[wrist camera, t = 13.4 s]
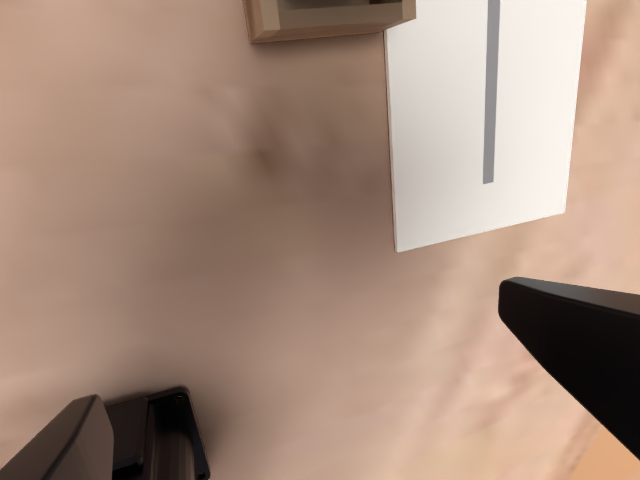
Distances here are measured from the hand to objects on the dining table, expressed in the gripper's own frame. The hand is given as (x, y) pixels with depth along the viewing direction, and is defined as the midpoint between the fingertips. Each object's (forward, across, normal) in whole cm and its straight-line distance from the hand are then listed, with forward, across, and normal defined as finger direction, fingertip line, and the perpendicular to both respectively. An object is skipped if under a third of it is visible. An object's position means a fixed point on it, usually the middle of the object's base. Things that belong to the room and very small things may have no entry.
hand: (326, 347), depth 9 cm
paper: (+12, -14, -4) cm, 19 cm away
